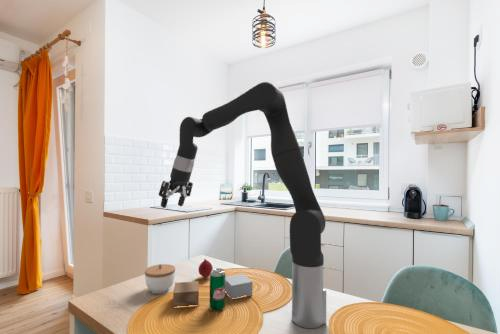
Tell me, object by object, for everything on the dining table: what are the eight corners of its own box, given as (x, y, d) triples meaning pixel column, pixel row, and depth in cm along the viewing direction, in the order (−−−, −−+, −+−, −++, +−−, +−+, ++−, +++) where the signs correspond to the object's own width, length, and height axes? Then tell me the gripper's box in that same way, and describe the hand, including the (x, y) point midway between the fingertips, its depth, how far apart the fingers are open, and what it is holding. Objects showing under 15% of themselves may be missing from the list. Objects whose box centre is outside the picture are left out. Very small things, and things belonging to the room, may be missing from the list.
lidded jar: (149, 299, 91) (149, 272, 91) (141, 288, 99) (141, 263, 100) (179, 291, 97) (179, 265, 97) (169, 281, 106) (169, 258, 106)
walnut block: (198, 295, 94) (198, 281, 94) (198, 306, 86) (198, 291, 86) (175, 297, 92) (175, 282, 93) (173, 308, 85) (173, 293, 85)
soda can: (213, 313, 82) (214, 274, 82) (206, 306, 86) (207, 269, 86) (227, 309, 85) (228, 271, 85) (220, 302, 89) (221, 266, 89)
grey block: (242, 286, 101) (242, 273, 101) (252, 295, 94) (252, 281, 94) (223, 290, 98) (223, 277, 98) (231, 300, 90) (231, 285, 91)
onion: (214, 275, 112) (214, 256, 112) (210, 281, 106) (210, 261, 106) (200, 275, 112) (200, 256, 113) (196, 280, 107) (196, 260, 107)
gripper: (174, 170, 95) (163, 211, 97) (201, 171, 107) (191, 208, 109) (161, 163, 99) (151, 203, 101) (189, 165, 111) (179, 201, 113)
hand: (171, 206), depth 105 cm, fingers open, 8 cm apart
